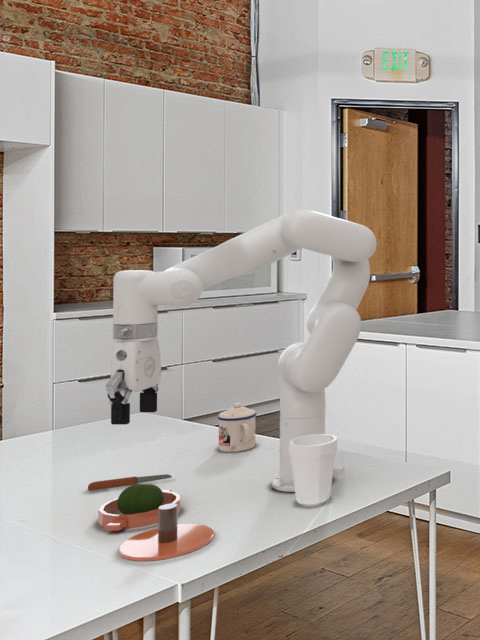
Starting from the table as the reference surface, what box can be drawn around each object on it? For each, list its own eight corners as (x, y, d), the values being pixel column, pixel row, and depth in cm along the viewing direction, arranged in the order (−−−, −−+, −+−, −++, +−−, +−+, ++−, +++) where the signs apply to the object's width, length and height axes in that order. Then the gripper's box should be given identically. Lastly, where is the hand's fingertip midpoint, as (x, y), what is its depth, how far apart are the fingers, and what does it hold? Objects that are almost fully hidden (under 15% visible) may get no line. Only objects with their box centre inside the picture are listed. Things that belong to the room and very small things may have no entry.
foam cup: (322, 490, 161) (322, 431, 161) (345, 500, 155) (346, 439, 155) (280, 502, 153) (280, 440, 153) (303, 513, 147) (303, 449, 147)
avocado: (169, 509, 148) (169, 479, 148) (153, 520, 142) (153, 489, 142) (128, 510, 147) (128, 480, 147) (110, 521, 141) (110, 490, 141)
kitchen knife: (87, 493, 158) (87, 483, 158) (88, 491, 159) (88, 482, 159) (172, 481, 166) (172, 472, 166) (172, 479, 167) (172, 471, 167)
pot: (199, 499, 155) (199, 485, 155) (150, 536, 136) (151, 520, 136) (131, 501, 154) (131, 487, 154) (73, 538, 135) (73, 522, 135)
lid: (227, 529, 139) (227, 491, 139) (190, 563, 125) (190, 521, 125) (147, 531, 138) (147, 493, 138) (100, 565, 124) (100, 523, 124)
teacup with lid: (212, 447, 193) (212, 403, 192) (248, 440, 199) (249, 397, 199) (228, 457, 184) (229, 411, 184) (266, 450, 191) (266, 405, 190)
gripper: (130, 338, 138) (129, 429, 138) (177, 326, 155) (176, 407, 155) (88, 338, 137) (87, 429, 137) (140, 326, 155) (139, 407, 155)
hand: (134, 417), depth 146 cm, fingers open, 9 cm apart
